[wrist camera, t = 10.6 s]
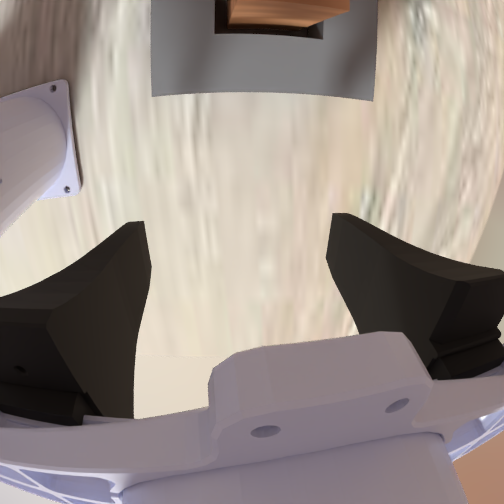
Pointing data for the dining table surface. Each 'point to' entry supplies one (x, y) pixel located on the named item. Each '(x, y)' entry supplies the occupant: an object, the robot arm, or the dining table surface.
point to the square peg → (282, 13)
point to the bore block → (262, 54)
